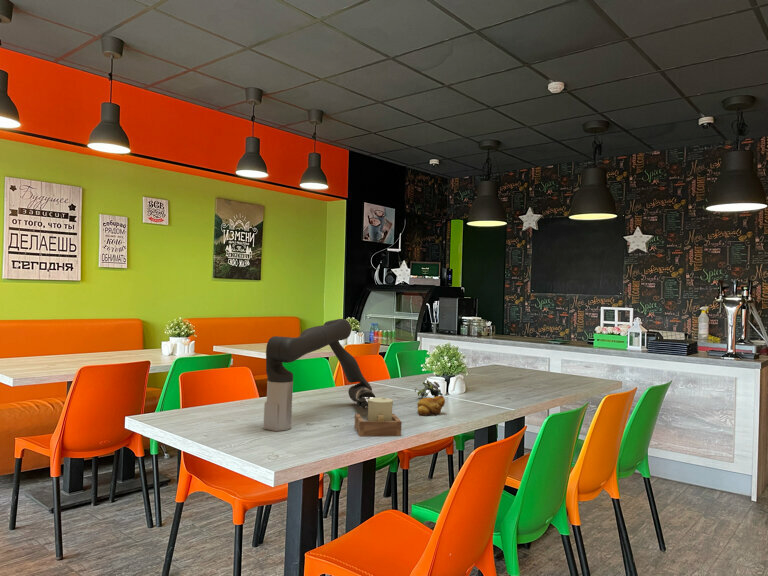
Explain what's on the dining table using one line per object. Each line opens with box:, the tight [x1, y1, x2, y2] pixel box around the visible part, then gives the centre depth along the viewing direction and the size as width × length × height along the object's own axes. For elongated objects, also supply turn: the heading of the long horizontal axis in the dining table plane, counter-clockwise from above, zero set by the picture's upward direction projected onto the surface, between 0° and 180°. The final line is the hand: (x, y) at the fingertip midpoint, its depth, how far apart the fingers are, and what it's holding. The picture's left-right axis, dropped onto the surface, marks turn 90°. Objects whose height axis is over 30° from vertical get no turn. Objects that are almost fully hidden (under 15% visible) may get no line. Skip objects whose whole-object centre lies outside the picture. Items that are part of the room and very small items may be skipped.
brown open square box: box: [354, 413, 403, 437], centre depth 202 cm, size 14×15×7 cm
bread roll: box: [416, 395, 446, 416], centre depth 237 cm, size 13×10×8 cm
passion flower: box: [414, 379, 444, 399], centre depth 269 cm, size 11×11×12 cm
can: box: [367, 397, 394, 421], centre depth 203 cm, size 9×9×12 cm
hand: (372, 406), depth 217 cm, fingers closed
